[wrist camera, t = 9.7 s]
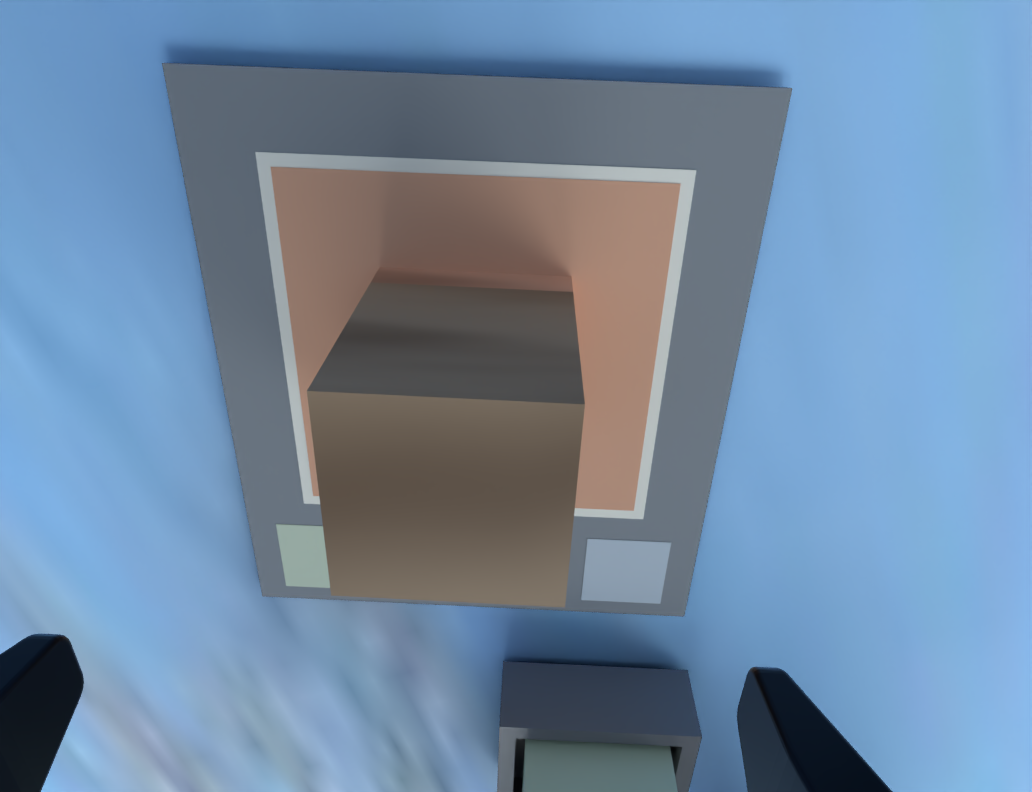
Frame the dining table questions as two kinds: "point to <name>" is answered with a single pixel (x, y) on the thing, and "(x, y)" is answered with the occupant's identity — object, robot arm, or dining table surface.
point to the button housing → (595, 712)
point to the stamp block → (451, 439)
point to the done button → (596, 767)
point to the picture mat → (485, 248)
